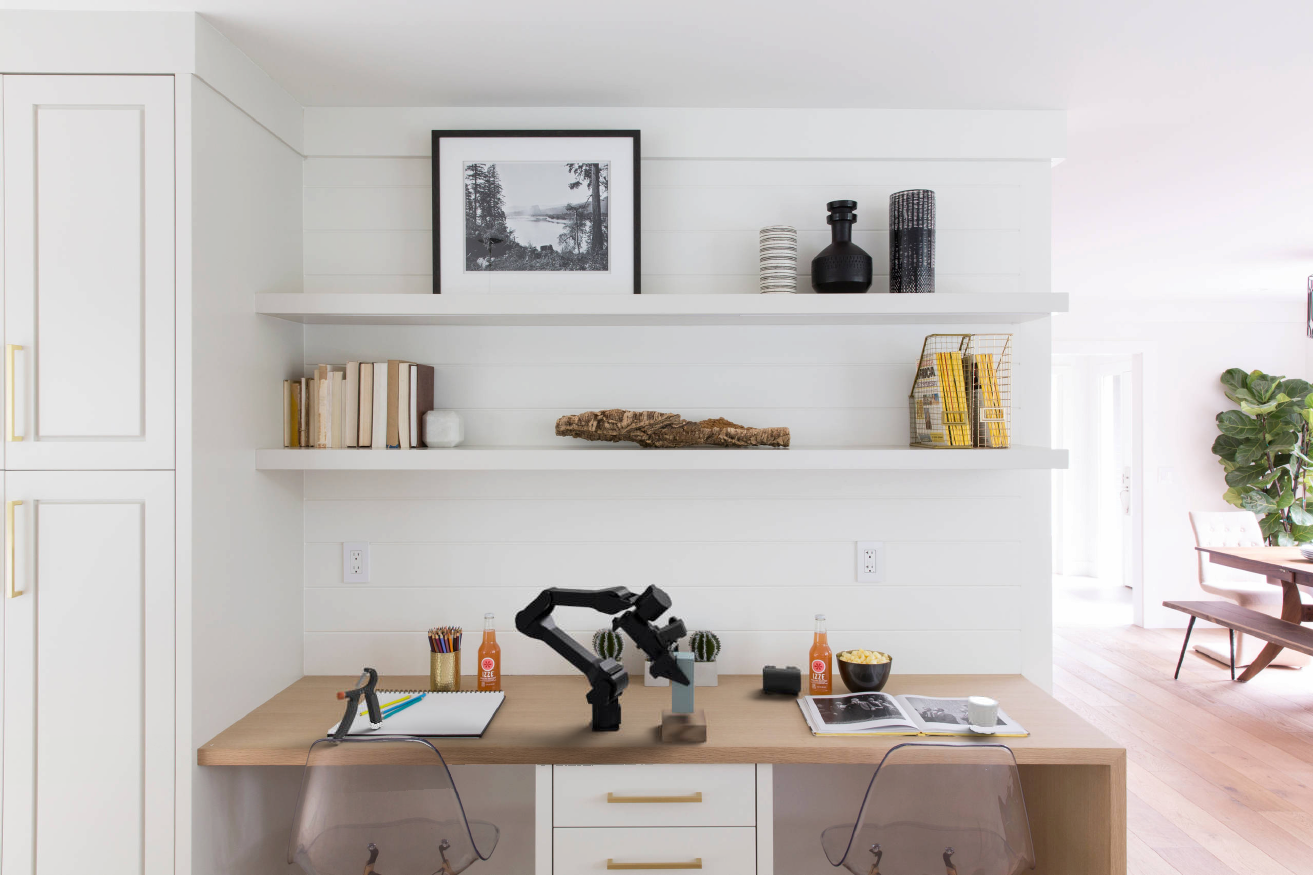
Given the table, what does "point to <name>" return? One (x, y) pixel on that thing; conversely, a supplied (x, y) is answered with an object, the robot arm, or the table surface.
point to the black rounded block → (781, 680)
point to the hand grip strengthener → (354, 700)
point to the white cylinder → (982, 711)
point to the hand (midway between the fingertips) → (689, 680)
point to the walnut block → (683, 726)
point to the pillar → (682, 693)
